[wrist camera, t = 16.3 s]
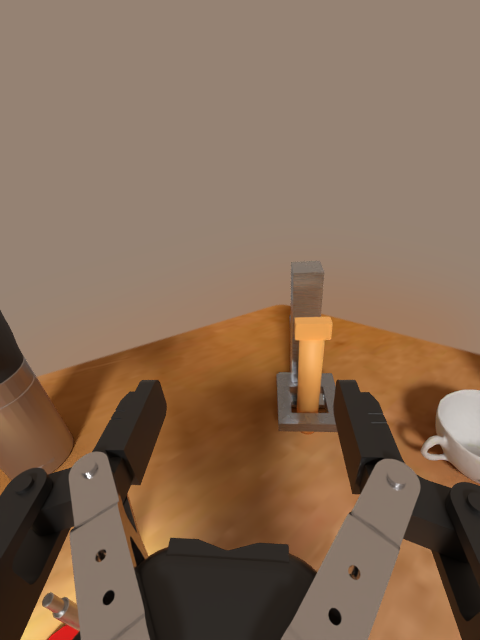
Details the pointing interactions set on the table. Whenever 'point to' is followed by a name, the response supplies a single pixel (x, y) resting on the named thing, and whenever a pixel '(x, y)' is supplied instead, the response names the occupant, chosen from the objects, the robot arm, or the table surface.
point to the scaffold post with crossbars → (303, 304)
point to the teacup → (458, 432)
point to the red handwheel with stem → (63, 616)
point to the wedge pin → (310, 360)
